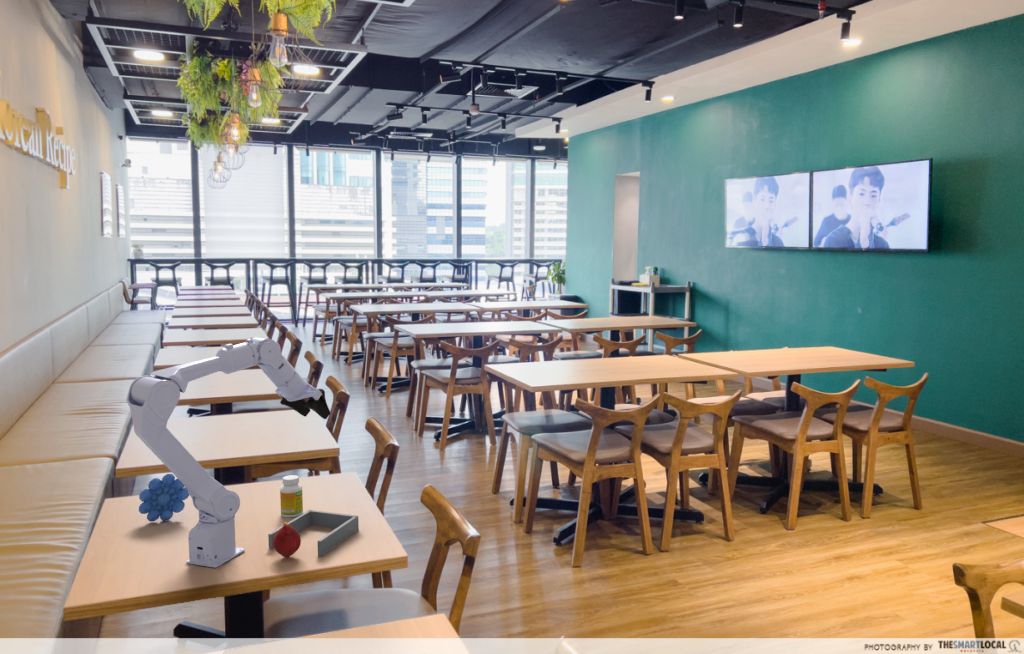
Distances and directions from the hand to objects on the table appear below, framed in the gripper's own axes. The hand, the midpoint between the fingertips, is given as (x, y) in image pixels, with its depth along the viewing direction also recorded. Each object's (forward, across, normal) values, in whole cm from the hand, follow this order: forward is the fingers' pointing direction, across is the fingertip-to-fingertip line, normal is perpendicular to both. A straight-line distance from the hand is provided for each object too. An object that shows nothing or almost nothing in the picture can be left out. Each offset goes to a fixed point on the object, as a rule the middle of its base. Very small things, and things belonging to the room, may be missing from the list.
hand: (317, 414), depth 174 cm
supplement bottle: (+20, +11, +18) cm, 29 cm away
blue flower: (+6, +34, +33) cm, 48 cm away
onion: (+10, -10, +32) cm, 35 cm away
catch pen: (+16, -7, +24) cm, 29 cm away
